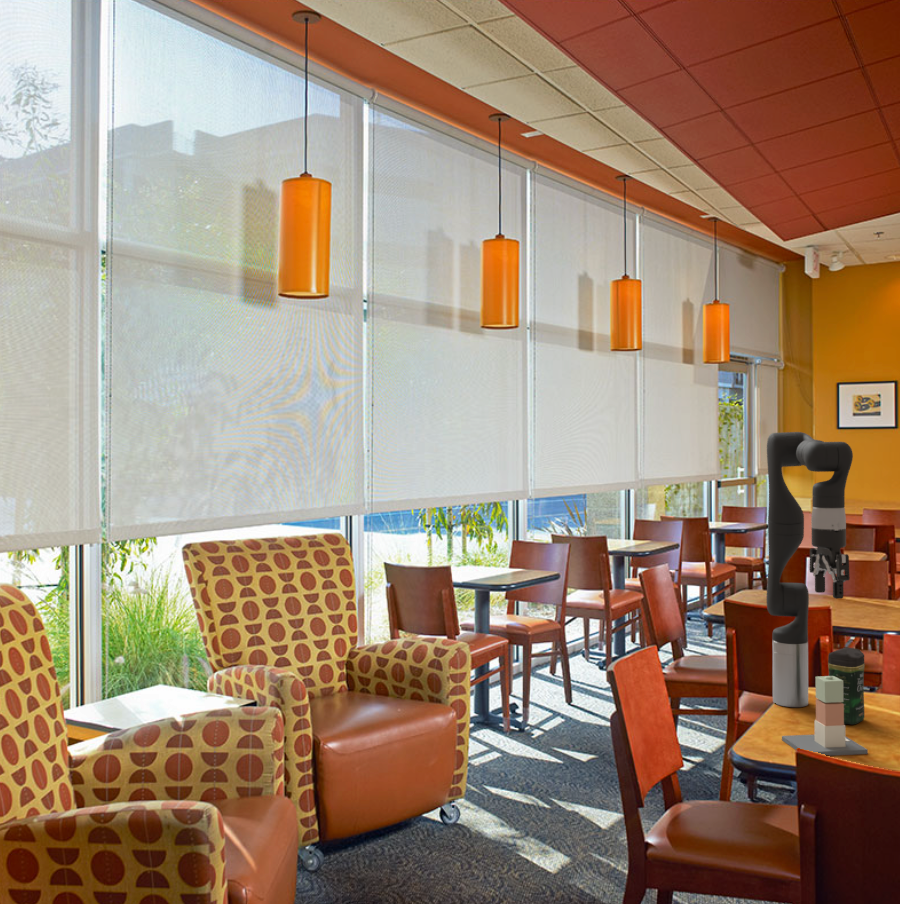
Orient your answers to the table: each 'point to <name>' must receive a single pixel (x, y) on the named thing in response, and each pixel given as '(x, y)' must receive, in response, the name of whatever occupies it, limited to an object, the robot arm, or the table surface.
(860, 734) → the table surface
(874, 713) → the table surface
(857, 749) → the build board
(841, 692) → the brick sage
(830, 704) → the brick terracotta
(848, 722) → the coffee jar
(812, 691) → the table surface
